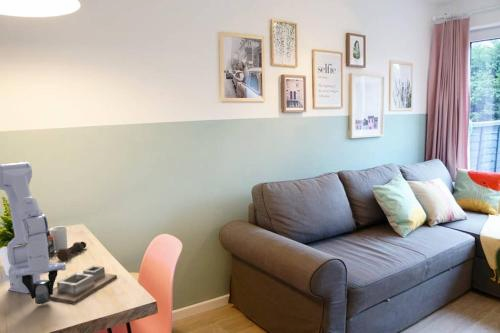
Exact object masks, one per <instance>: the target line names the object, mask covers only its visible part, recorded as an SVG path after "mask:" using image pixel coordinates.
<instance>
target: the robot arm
mask: <svg viewBox="0 0 500 333" xmlns="http://www.w3.org/2000/svg"><path fill="white" fill-rule="evenodd" d="M32 177H33V170H32V165H31V163H29V161H24V162H17V163H16V162H14V163H5V164H4V163H3V164H0V191H1V190H2V191H4V192H5V194H6V196H7V200H8V206H9V211H10V217H11V223H12V227H13V228H12V229H13V234H14V237H13V238H12V239H11V240H10V241H9V242H8V243H7V245H6V250H7V259H8V263H9V265H10V266H9V268H8V281H9V286H10V287H8V288H7V289H8V291H12V292H18V293H22V294H30V296H31V299H34V300H35V295H34V287H33V284H34V283H35V282H37V281H40V280H41V275H42V274H46V273H48V275H47V277H48V280H49V285H50V295H53V288H54V286H55V282H56V279H57V276H58V272H59V271H66V269H67V268H66V267H67V265H66V261H63V262H56V263H55V262H54V263H50V257H49V255H48V246H47V237H46V233H47V232H48V230H49V223H48V218H47V216H46V215H45V214H44V212H43V211H42V212H41V208H40V206H39V203H38V201H37V199H36V198H34V197H32V195H31V190H30V183H31V180H32ZM45 232H46V233H45Z"/></svg>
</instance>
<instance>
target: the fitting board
mask: <svg viewBox="0 0 500 333" xmlns="http://www.w3.org/2000/svg"><path fill="white" fill-rule="evenodd" d="M105 271H106V270H105V266H100V265H91V266H90V267H88V268H86V269H84V270H83V272H81V273H80V272H74V273H72V274H69V275H68V276H66V277H64V278H62V279H60V280H58V281H56V287H53V295H51V300H50V301H56V302H63V303H68V304H77V303H78V302H80V301H81V300H83V299H85V298H86V297H88V296H89V295H91V294H93V293H94V292H96V291H97V290H99V289H101V288H102V287H104V286H106V285H107V284H109V283H111V282H112V281H115V279H117V278H118V277H117V276H118V275H117V274H111V273H106V272H105Z"/></svg>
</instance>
